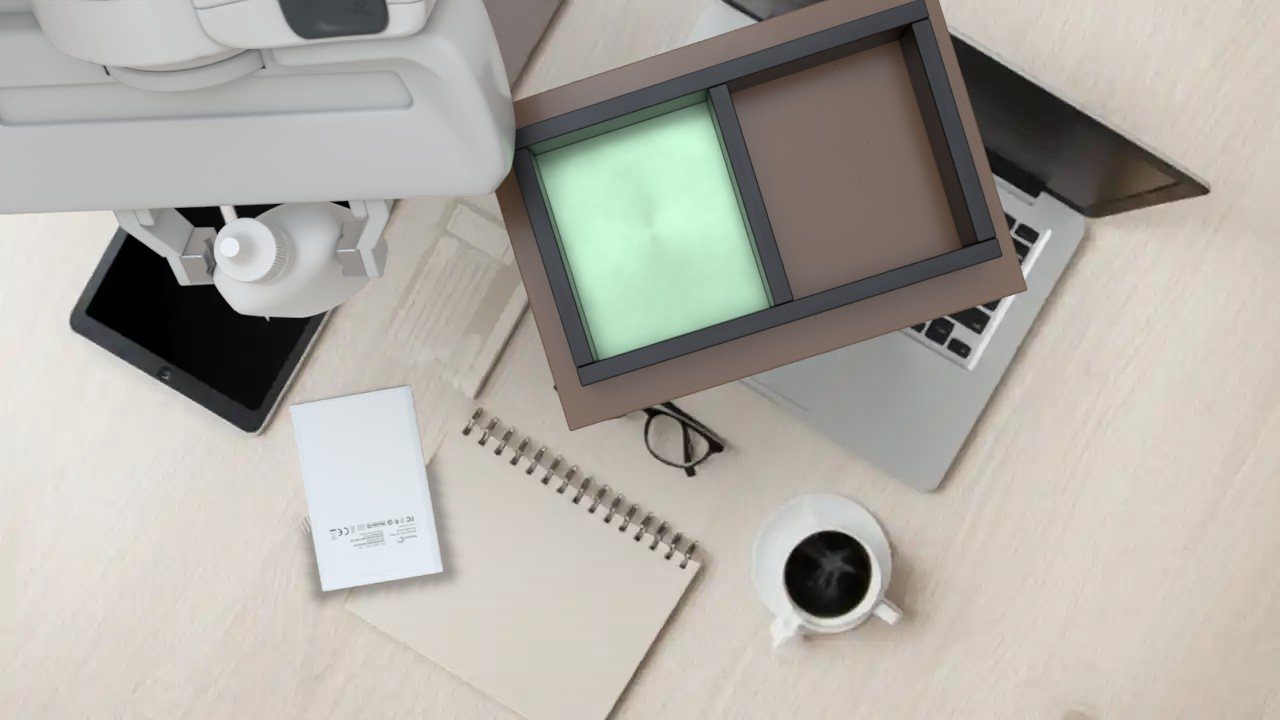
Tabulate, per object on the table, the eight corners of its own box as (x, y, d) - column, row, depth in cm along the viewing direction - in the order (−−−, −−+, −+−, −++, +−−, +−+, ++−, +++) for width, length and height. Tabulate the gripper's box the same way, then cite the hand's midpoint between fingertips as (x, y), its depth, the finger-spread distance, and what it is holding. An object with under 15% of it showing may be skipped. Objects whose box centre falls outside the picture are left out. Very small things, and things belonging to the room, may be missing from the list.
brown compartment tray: (475, 120, 47) (458, 102, 44) (922, -24, 46) (943, -55, 43) (572, 429, 48) (563, 437, 44) (1019, 291, 47) (1048, 288, 43)
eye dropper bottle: (267, 228, 51) (143, 198, 39) (385, 211, 51) (297, 174, 39) (281, 321, 51) (162, 318, 39) (399, 304, 51) (315, 296, 39)
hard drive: (415, 383, 73) (447, 567, 73) (296, 404, 73) (328, 587, 73) (409, 384, 71) (442, 573, 71) (287, 405, 72) (320, 593, 72)
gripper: (-206, 13, 33) (8, 335, 43) (470, -19, 32) (526, 316, 42) (-109, -81, 37) (65, 232, 47) (489, -111, 37) (536, 213, 47)
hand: (287, 271), depth 45 cm, fingers closed on eye dropper bottle, 5 cm apart
